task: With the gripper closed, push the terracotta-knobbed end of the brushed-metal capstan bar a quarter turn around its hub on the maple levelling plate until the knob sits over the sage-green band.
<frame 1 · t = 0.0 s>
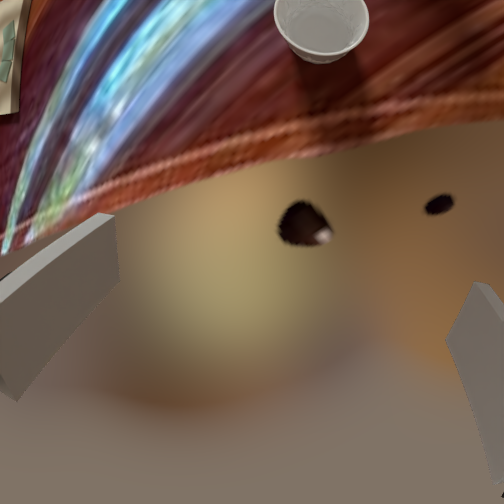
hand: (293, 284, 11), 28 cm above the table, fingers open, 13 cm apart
white cup: (318, 37, 29), on the table
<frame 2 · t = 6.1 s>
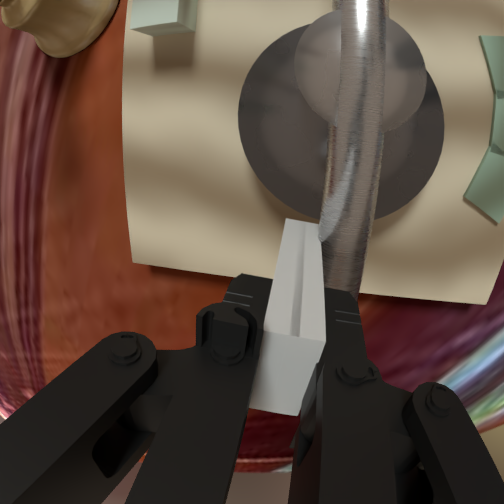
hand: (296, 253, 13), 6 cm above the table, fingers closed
lever: (343, 185, 12), point 5 cm above the table, hinge at 1.0°, touching gripper
hand bell: (76, 5, 14), on the table
stand: (339, 86, 15), on the table
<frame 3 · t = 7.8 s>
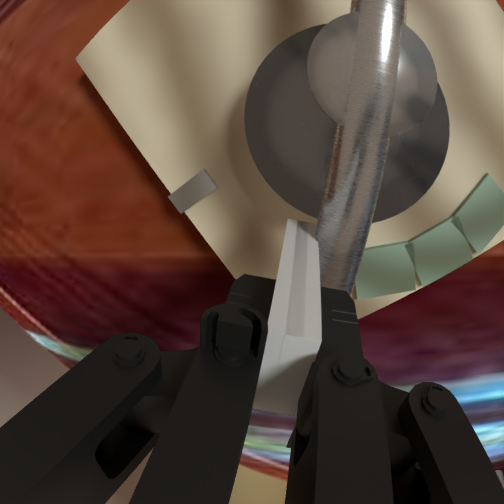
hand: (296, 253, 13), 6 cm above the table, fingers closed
lever: (344, 186, 12), point 5 cm above the table, hinge at 47.7°, touching gripper
stand: (348, 88, 15), on the table
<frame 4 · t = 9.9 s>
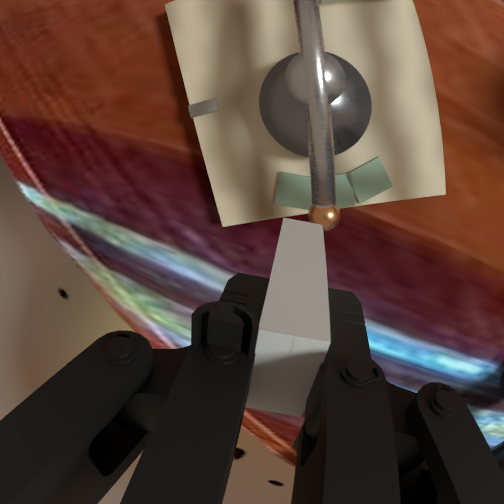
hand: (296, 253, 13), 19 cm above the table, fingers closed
lever: (319, 134, 23), point 5 cm above the table, hinge at 83.0°
stand: (312, 85, 26), on the table
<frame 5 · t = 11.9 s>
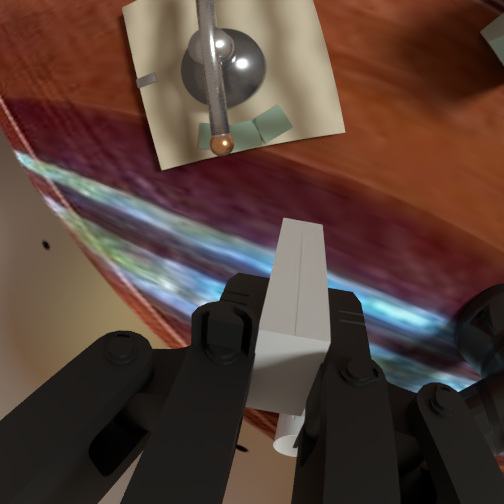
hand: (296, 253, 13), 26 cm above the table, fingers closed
lever: (220, 87, 29), point 5 cm above the table, hinge at 83.0°
stand: (228, 56, 32), on the table
white cup: (300, 401, 55), on the table
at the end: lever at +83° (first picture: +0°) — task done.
